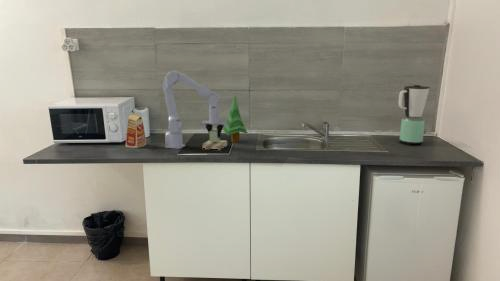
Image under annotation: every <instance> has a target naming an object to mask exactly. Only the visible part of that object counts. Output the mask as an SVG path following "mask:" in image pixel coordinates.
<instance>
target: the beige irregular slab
mask: <svg viewBox="0 0 500 281" xmlns="http://www.w3.org/2000/svg"><path fill="white" fill-rule="evenodd" d="M224 147H225V148H226V147H228V140H224V139H223V140H222V139H220V140H219V141H218V142H210V139H208V140H207V141H205V142H203V143H202V149H203V148H205V149H204V150H210V149H218V150H217V151H222V150H223V149H225V148H224ZM222 148H223V149H222ZM221 149H222V150H221Z"/></svg>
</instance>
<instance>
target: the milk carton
mask: <svg viewBox="0 0 500 281" xmlns="http://www.w3.org/2000/svg"><path fill="white" fill-rule="evenodd" d="M126 125H127V126H126V136H125V147H126V148H132V149H135V148H136V149H137V148H141V147H145V146H146V145H147V138H146V133H145V127H144V121H143V118H142V115H141V114H137V113H134V112H130V115H129V116H128V118H127V124H126Z"/></svg>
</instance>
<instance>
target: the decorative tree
mask: <svg viewBox="0 0 500 281" xmlns="http://www.w3.org/2000/svg"><path fill="white" fill-rule="evenodd" d="M226 122H227V126H224V127H223V129H222V130H223V131H224V133H225V134H226V135H227V136H230V135H231V136H230V137H231V139H230V140H231V143H237V144H238V143H240V133H244V134H248V132H247V128H246V127H245V124H244V123H243V119H242V117H241V114H240V109H239V105H238V101H237V96H236V94H234V96H233V99H232V103H231V107H230V111H229V116H228V117H227V120H226Z"/></svg>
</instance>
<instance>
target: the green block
mask: <svg viewBox="0 0 500 281" xmlns="http://www.w3.org/2000/svg"><path fill="white" fill-rule="evenodd" d="M208 136H209V140H210V142H218V141H219V140H221V137H220V138H218V132H217V129H212V130H211V131H209V133H208Z"/></svg>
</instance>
